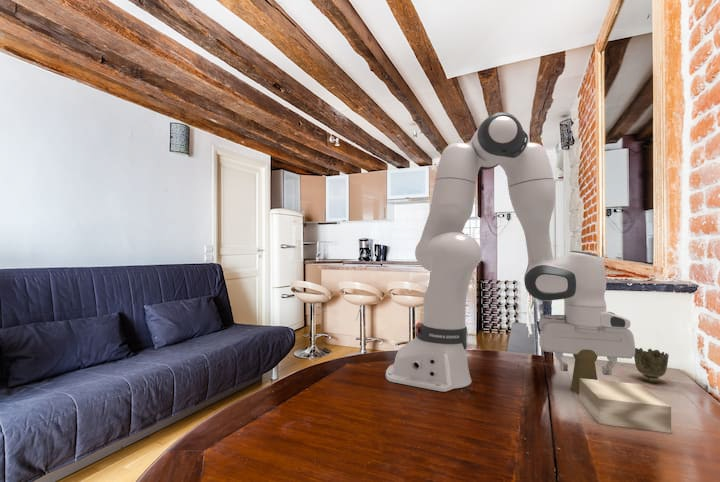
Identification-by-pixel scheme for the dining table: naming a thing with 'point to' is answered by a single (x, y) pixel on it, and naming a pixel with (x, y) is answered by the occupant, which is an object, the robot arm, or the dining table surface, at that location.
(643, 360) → the cup
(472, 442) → the dining table surface
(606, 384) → the plinth
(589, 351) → the cork
